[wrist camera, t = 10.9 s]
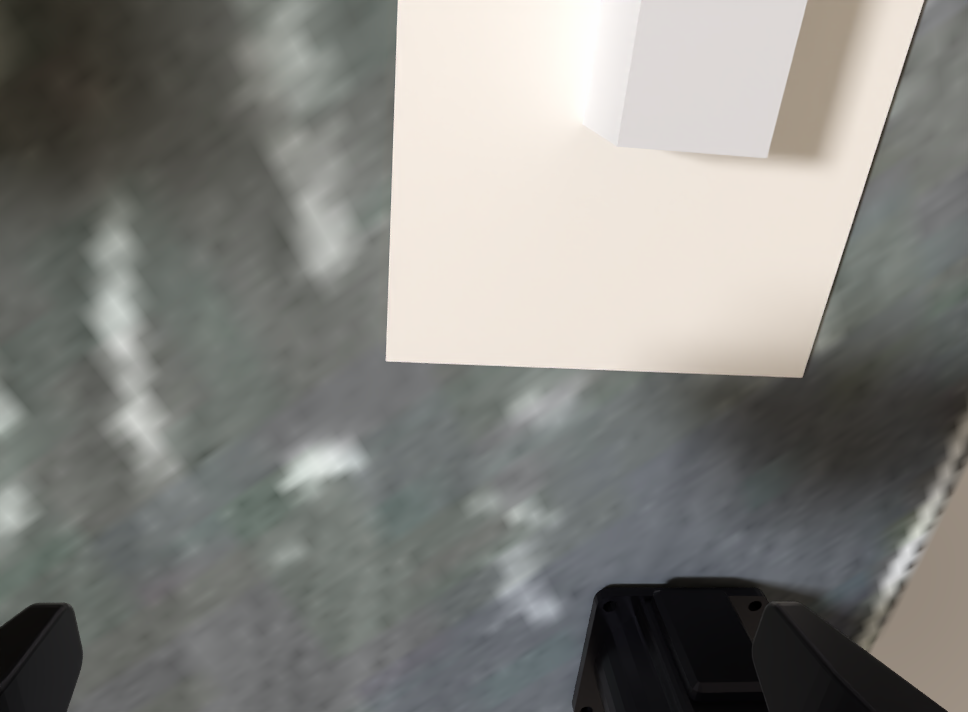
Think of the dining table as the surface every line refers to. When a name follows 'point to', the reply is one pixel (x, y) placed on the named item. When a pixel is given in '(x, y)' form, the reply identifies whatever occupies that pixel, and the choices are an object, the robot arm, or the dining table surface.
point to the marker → (691, 73)
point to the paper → (618, 199)
